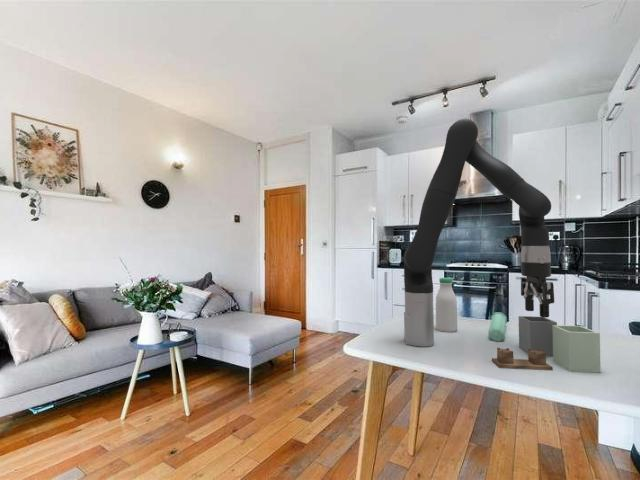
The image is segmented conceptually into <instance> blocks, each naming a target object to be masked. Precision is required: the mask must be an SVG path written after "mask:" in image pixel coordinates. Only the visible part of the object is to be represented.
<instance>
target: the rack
mask: <svg viewBox="0 0 640 480" xmlns="http://www.w3.org/2000/svg"><path fill="white" fill-rule="evenodd" d="M527 356H528V357H527V359H523V358H521V359H520V358H514V351H513V350H511V349H510V348H509V347H506V348H500V347H496V358H495V357H492V358H491V361H492V363H494V364H495V366H496V367H498V368H499V369H500V368H501V369H519V370H520V369H521V370H539V371H540V370H542V371H543V370H544V371H554V369H553V366H552V365H550V364H549V363H547V356H546V353H545V352H542V351H541V350H540V349H537V350H531V349H528V353H527Z"/></svg>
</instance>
